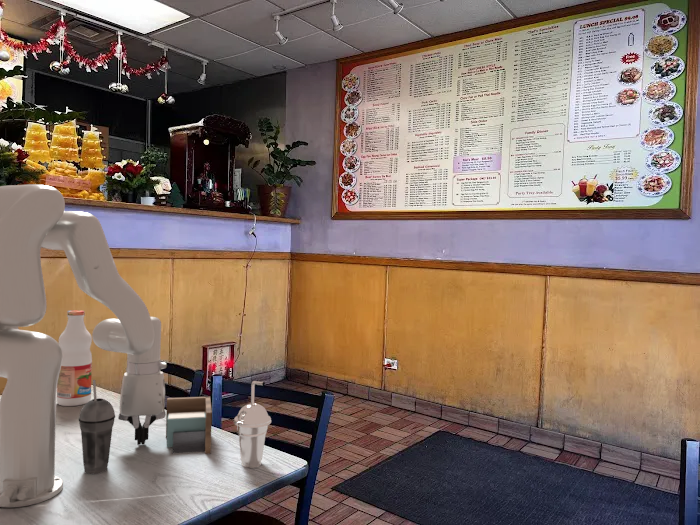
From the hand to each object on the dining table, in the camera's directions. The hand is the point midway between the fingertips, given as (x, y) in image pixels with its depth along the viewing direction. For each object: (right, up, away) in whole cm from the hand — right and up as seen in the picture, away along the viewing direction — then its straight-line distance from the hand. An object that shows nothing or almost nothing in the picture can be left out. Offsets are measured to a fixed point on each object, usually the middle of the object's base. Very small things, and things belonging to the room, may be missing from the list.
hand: (141, 442), depth 133 cm
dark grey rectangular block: (+12, -1, -1) cm, 12 cm away
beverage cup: (-4, -1, -15) cm, 15 cm away
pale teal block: (+10, -1, +3) cm, 10 cm away
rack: (+11, -1, +2) cm, 11 cm away
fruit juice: (-34, +1, +34) cm, 48 cm away
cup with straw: (+28, -2, -9) cm, 30 cm away
